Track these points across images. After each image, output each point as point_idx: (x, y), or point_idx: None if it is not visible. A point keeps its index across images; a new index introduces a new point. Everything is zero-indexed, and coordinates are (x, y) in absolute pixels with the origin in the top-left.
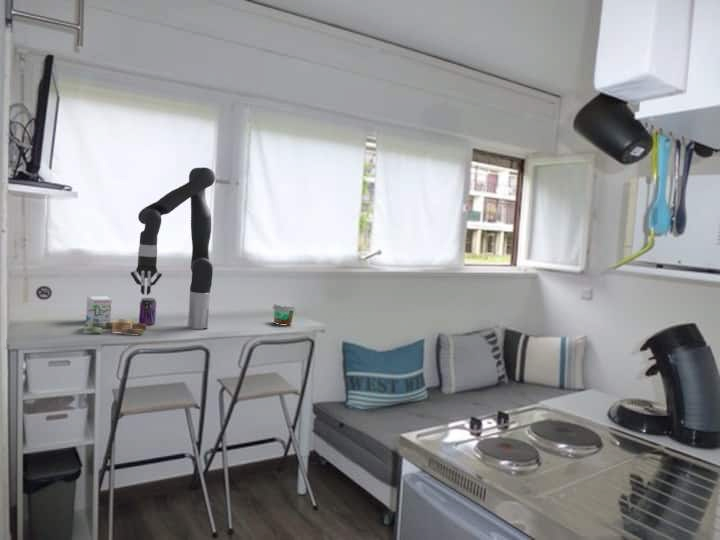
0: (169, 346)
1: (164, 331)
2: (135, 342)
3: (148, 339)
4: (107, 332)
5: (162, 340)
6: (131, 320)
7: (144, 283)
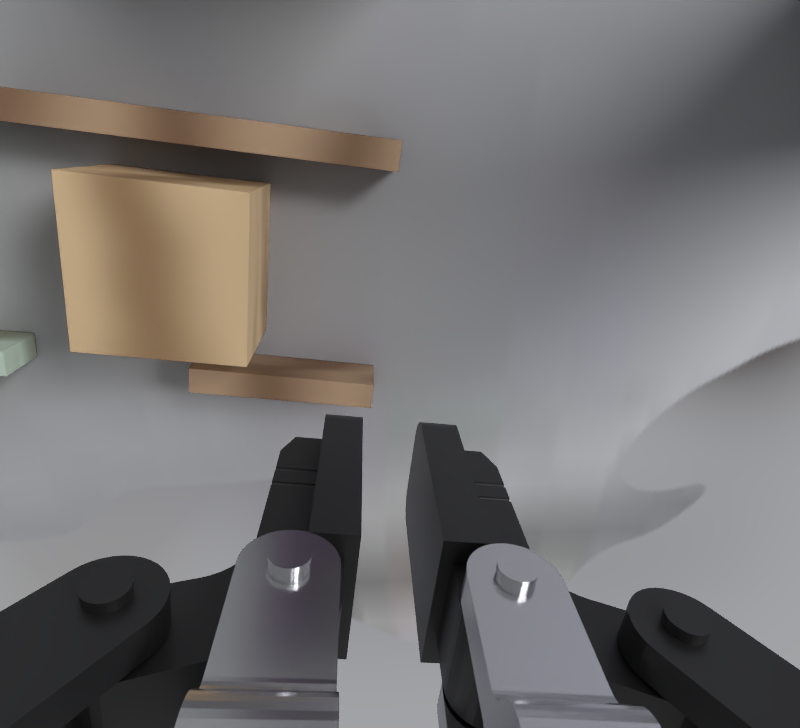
0: None
1: (558, 226)
2: None
3: None
4: None
5: None
6: (242, 247)
7: (338, 592)
